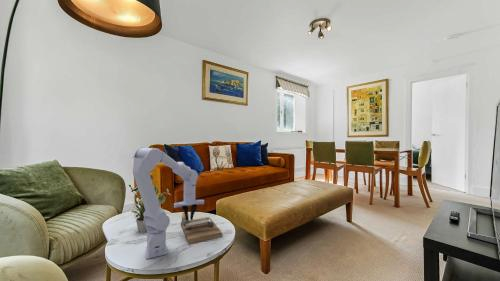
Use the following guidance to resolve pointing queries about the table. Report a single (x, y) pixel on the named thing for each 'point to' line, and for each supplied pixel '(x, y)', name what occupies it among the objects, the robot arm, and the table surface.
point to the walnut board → (200, 231)
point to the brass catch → (184, 216)
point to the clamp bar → (198, 223)
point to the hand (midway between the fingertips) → (189, 219)
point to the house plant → (140, 218)
